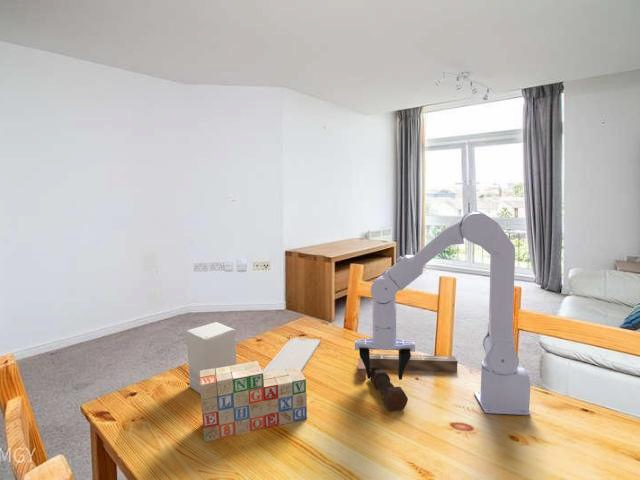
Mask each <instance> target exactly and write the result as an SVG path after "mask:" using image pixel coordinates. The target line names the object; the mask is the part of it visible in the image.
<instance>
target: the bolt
mask: <svg viewBox="0 0 640 480" xmlns="http://www.w3.org/2000/svg"><path fill="white" fill-rule="evenodd" d="M369 381H370V382H371V384H372V385H373V387H374V388H375V390H379V391H380V392H381V394H382V395H383V396H382V398H381V401H382V402H383V404H384V406H385V407H386V409H387V410H388V412H391V413H392V412H393V413H396V412H401V411H403V410H404V409H405V408H406V406H407V403H408V400H409V398H408V395H406V393H405V391H404V390H403V388H402V387H401V386H394V385H393V383H392V382H391V378H390V376H389V374H388V372H386V369H379V368H378V367H372V368H371V369H370V379H369Z"/></svg>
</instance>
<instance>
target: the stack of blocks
mask: <svg viewBox="0 0 640 480" xmlns="http://www.w3.org/2000/svg"><path fill="white" fill-rule="evenodd" d="M262 371H263V370H262V368H261V366H260V362H259V361H258V360H254V361H250V362H244V363H237V365H231V366H226V367H220V368H216V369H215V368H214V369H207V370H201V371H200V390H201V394H200V404H201V405H200V406H201V416H202V427H203V430H202V431H203V442H209V441H215V440H219V439H221V440H222V439H225V438H229V437H234V436H238V435H243V434H248V433H252V432H254V431H259V430H264V429H267V428H272V427H276V426H283V425H286V424H291V423H295V422H296V423H297V422H300V421H305V420H308V416H307V415H308V407H307V404H308V403H307V401H308V399H307V398H308V397H307V383H306V382H307V380H306V377H305V375H304V374H303V372H301V371H300V369H299V368H298V367H295V368H289V369H282V370H277V371H272V372H266V373H263V372H262Z"/></svg>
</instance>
